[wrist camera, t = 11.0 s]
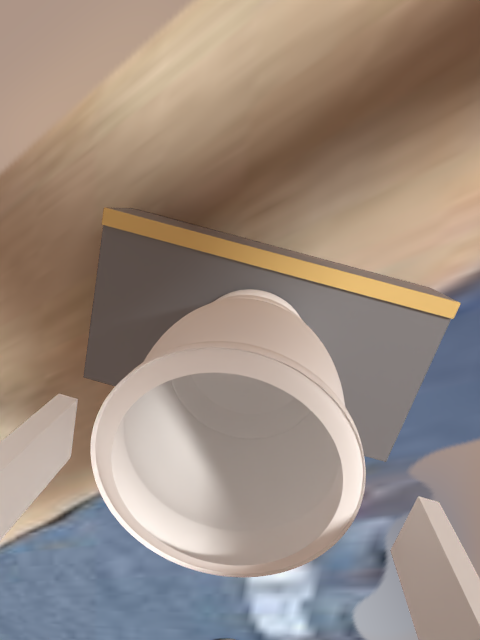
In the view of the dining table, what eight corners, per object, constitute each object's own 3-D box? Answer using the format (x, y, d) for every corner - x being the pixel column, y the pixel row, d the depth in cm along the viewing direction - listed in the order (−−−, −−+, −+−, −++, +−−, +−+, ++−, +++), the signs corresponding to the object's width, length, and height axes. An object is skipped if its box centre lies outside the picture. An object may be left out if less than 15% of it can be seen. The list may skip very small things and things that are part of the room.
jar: (168, 374, 29) (65, 528, 15) (207, 253, 26) (123, 303, 12) (291, 419, 29) (303, 615, 15) (344, 304, 26) (422, 414, 12)
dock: (430, 287, 30) (460, 303, 25) (371, 427, 34) (386, 464, 29) (132, 208, 31) (103, 207, 26) (109, 354, 35) (81, 378, 30)
